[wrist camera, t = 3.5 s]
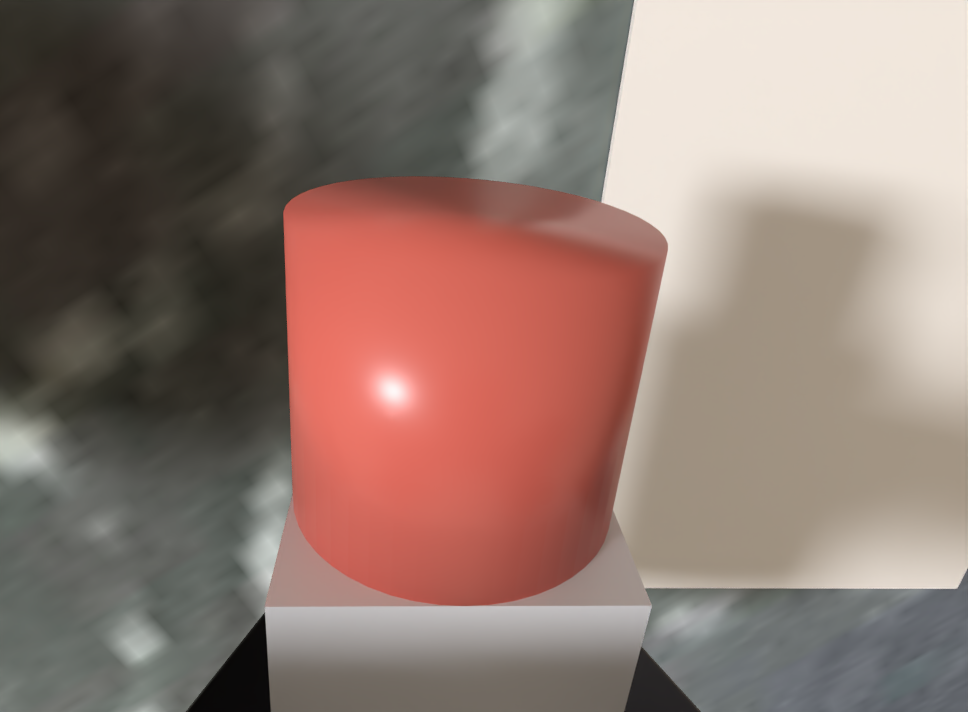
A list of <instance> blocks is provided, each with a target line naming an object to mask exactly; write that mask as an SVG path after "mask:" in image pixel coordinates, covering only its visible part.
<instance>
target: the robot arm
mask: <svg viewBox="0 0 968 712" xmlns="http://www.w3.org/2000/svg"><path fill="white" fill-rule="evenodd" d="M186 712H271V704H270V688H269V671H268V654H267V638H266V621H265V613H264V614H263V615H262V617H261V618H260V619H259V620H258V622H257V623H256V624H255V625H254V627H253V628H252V629H251V630H250V632H249V633H248V634H247V635H246V637H245V638H244V639H243V641H242V642H241V643H240V644H239V646H238V647H237V648H236V649H235V651H234V652H233V653H232V654H231V656H230V657H229V658H228V659H227V661H226V662H225V663H224V664H223V666H222V667H221V668H220V669H219V671H218V672H217V673H216V674H215V676H214V677H213V678H212V679H211V681H210V682H209V683H208V684H207V686H206V687H205V688H204V689H203V691H202V692H201V693H200V694H199V696H198V697H197V698H196V699H195V701H194V702H193V703H192V705H191V706H190V707H189V708H188V710H187V711H186ZM624 712H701V711H700V710H699V709H698V708H697V707H696V706H695V705H694V704H693V703H692V701H691V700H690V699H689V698H688V697H687V696H686V695H685V694H684V693H683V692H682V691H681V689H680V688H679V687H678V686H677V685H676V684H675V683H674V682H673V681H672V680H671V678H670V677H669V676H668V675H667V674H666V673H665V672H664V671H663V670H662V669H661V668H660V666H659V665H658V664H657V663H656V662H655V661H654V660H653V659H652V658H651V657H650V656H649V654H648V653H647V652H646V651H645V650H644V649H643V648H642V647H641V649H640V653H639V657H638V661H637V664H636V668H635V672H634V676H633V680H632V683H631V687H630V691H629V695H628V699H627V703H626V706H625V710H624Z"/></svg>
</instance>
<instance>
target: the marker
mask: <svg viewBox="0 0 968 712" xmlns="http://www.w3.org/2000/svg"><path fill="white" fill-rule="evenodd" d="M283 216H284V246H285V276H286V306H287V335H288V365H289V395H290V425H291V455H292V485H293V494H292V498H291V502H290V506H289V510H288V514H287V518H286V522H285V526H284V531H283V535H282V539H281V543H280V547H279V551H278V555H277V559H276V563H275V567H274V571H273V575H272V579H271V583H270V587H269V591H268V595H267V599H266V603H265V621H266V638H267V654H268V671H269V688H270V704H271V712H624V710H625V706H626V703H627V699H628V695H629V691H630V687H631V683H632V680H633V676H634V672H635V668H636V664H637V661H638V657H639V653H640V649H641V645H642V641H643V638H644V634H645V630H646V626H647V622H648V619H649V615H650V611H651V607H652V605H651V602H650V600H649V597H648V595H647V593H646V590H645V588H644V585H643V583H642V580H641V578H640V575H639V573H638V570H637V568H636V565H635V563H634V560H633V558H632V555H631V553H630V551H629V548H628V546H627V543H626V541H625V538H624V536H623V533H622V531H621V528H620V526H619V523H618V521H617V518H616V516H615V513H614V511H613V507H614V502H615V497H616V492H617V488H618V483H619V478H620V474H621V469H622V464H623V459H624V455H625V450H626V445H627V441H628V436H629V431H630V427H631V422H632V417H633V412H634V408H635V403H636V398H637V394H638V389H639V384H640V379H641V375H642V370H643V365H644V361H645V356H646V351H647V346H648V342H649V337H650V332H651V328H652V323H653V318H654V314H655V309H656V304H657V299H658V295H659V290H660V285H661V281H662V276H663V271H664V266H665V262H666V257H667V252H668V243H667V241H666V239H665V237H664V235H663V234H662V233H661V232H660V231H659V230H658V229H656V228H655V227H654V226H652V225H651V224H650V223H648V222H646V221H644V220H643V219H641V218H639V217H637V216H635V215H633V214H631V213H628V212H626V211H624V210H621V209H618V208H616V207H613V206H610V205H607V204H604V203H601V202H598V201H595V200H591V199H588V198H584V197H580V196H576V195H572V194H568V193H564V192H559V191H554V190H549V189H544V188H539V187H533V186H527V185H521V184H514V183H506V182H498V181H489V180H479V179H468V178H452V177H382V178H368V179H359V180H351V181H345V182H338V183H334V184H329V185H324V186H321V187H317V188H314V189H311V190H308V191H306V192H304V193H301V194H299V195H298V196H296V197H294V198H293V199H291V200H290V201H289V203H288V204H287V205H286V206H285V209H284V212H283Z"/></svg>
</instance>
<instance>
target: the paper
mask: <svg viewBox="0 0 968 712" xmlns="http://www.w3.org/2000/svg"><path fill="white" fill-rule="evenodd" d="M601 203H604V204H607V205H610V206H613V207H616V208H618V209H621V210H624V211H626V212H628V213H631V214H633V215H635V216H637V217H639V218H641V219H643V220H644V221H646V222H648V223H650V224H651V225H652V226H654V227H655V228H656V229H658V230H659V231H660V232H661V233H662V234H663V235H664V237H665V239H666V241H667V243H668V252H667V257H666V262H665V266H664V271H663V276H662V281H661V285H660V290H659V295H658V299H657V304H656V309H655V314H654V318H653V323H652V328H651V332H650V337H649V342H648V346H647V351H646V356H645V361H644V365H643V370H642V375H641V379H640V384H639V389H638V394H637V398H636V403H635V408H634V412H633V417H632V422H631V427H630V431H629V436H628V441H627V445H626V450H625V455H624V459H623V464H622V469H621V474H620V478H619V483H618V488H617V492H616V497H615V502H614V507H613V511H614V513H615V516H616V518H617V521H618V523H619V526H620V528H621V531H622V533H623V536H624V538H625V541H626V543H627V546H628V548H629V551H630V553H631V555H632V558H633V560H634V563H635V565H636V568H637V570H638V573H639V575H640V578H641V580H642V583H643V585H644V588H847V589H957V588H958V586H959V584H960V582H961V580H962V578H963V576H964V574H965V572H966V570H967V568H968V0H634V6H633V12H632V18H631V24H630V30H629V36H628V42H627V49H626V55H625V61H624V67H623V73H622V79H621V85H620V91H619V97H618V103H617V109H616V115H615V122H614V128H613V134H612V140H611V146H610V152H609V158H608V164H607V170H606V176H605V182H604V189H603V195H602V201H601Z"/></svg>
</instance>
